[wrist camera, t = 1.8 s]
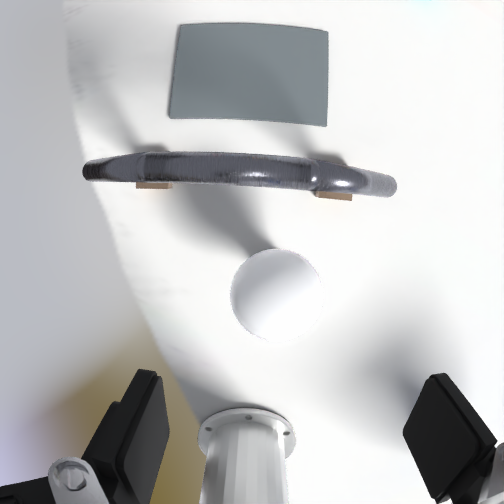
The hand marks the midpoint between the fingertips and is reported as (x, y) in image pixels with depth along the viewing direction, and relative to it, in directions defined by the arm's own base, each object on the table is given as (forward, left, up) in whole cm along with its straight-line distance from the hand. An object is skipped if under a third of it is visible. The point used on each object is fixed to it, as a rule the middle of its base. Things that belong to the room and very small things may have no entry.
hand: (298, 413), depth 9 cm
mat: (+18, +3, -20) cm, 27 cm away
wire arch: (+8, +3, -20) cm, 21 cm away
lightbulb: (0, 0, -20) cm, 20 cm away
